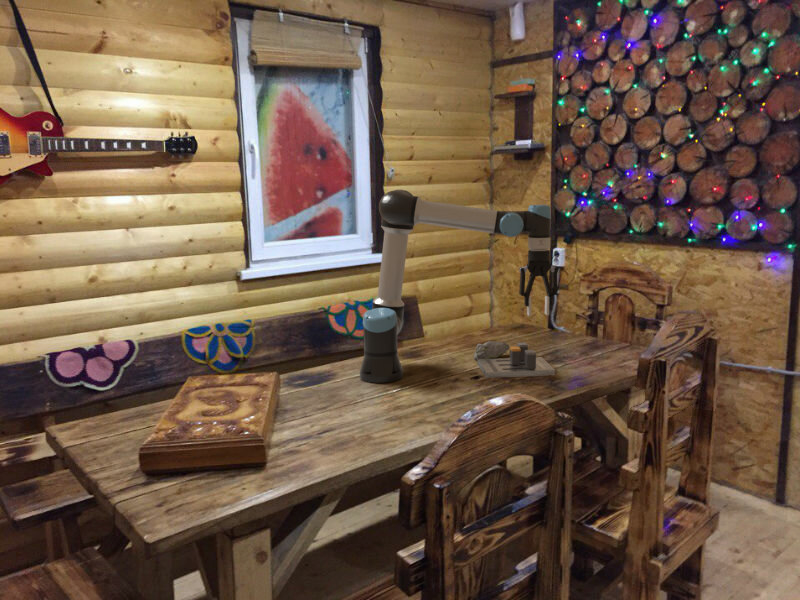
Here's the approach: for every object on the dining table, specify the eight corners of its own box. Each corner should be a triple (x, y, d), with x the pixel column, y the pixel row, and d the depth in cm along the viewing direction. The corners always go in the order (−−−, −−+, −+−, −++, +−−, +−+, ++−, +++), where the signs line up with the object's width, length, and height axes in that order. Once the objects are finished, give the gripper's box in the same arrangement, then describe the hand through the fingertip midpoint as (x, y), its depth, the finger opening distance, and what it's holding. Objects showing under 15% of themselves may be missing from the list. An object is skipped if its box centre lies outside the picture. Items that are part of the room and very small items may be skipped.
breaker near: (527, 369, 226) (527, 352, 225) (524, 366, 230) (524, 350, 228) (535, 368, 226) (536, 352, 225) (533, 365, 230) (533, 349, 229)
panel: (486, 378, 224) (486, 372, 224) (477, 364, 241) (477, 359, 241) (555, 375, 226) (555, 369, 225) (541, 362, 242) (541, 356, 242)
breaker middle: (512, 365, 231) (512, 349, 230) (509, 362, 235) (509, 346, 234) (520, 364, 231) (520, 349, 230) (518, 362, 235) (518, 346, 234)
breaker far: (519, 360, 237) (519, 345, 236) (517, 357, 240) (517, 342, 239) (527, 360, 237) (527, 344, 236) (525, 357, 240) (525, 342, 239)
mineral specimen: (499, 353, 257) (499, 336, 256) (511, 357, 251) (511, 340, 250) (467, 358, 250) (467, 341, 249) (478, 363, 244) (478, 345, 242)
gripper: (515, 251, 222) (514, 318, 226) (568, 249, 223) (567, 316, 227) (510, 249, 229) (509, 313, 233) (562, 247, 231) (560, 312, 235)
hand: (537, 314), depth 230 cm, fingers open, 6 cm apart
